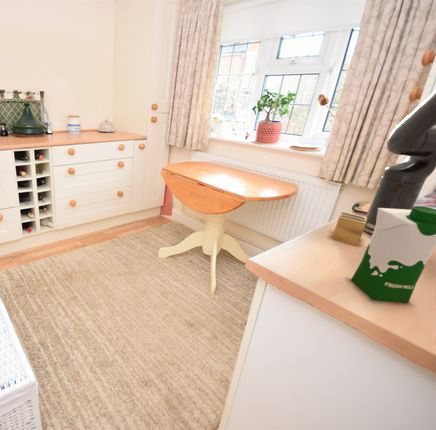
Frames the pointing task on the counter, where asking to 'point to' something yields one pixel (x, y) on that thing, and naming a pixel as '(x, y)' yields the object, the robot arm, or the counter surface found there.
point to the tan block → (349, 228)
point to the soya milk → (397, 253)
